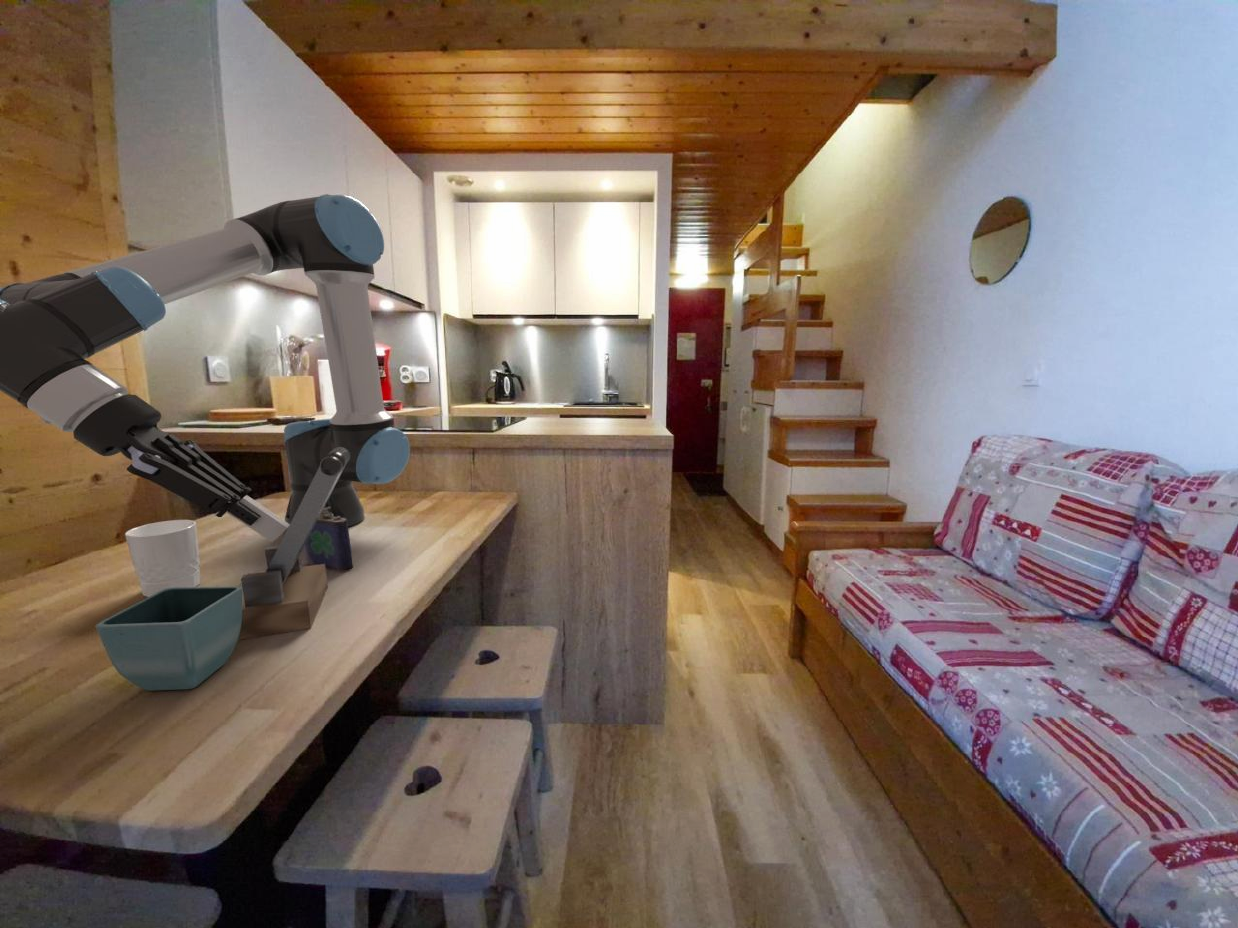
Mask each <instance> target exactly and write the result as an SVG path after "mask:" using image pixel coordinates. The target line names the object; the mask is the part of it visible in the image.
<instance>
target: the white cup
mask: <svg viewBox="0 0 1238 928" xmlns="http://www.w3.org/2000/svg"><path fill="white" fill-rule="evenodd" d="M197 531H198V530H197V524H196V521H194V520H192V519H174V520H166V521H165V520H164V521H158V522H157V521H156V522H153V523H152V522H151V523H147V524H144V525H140V526H136V527H133V528H131V529H129V530H127V531H126V532H125V534H124V535H125V539H126V542H127V546H128V549H129V554H130V558H131V561H132V565H133V568H134V569H135V570H134V571H135V573H136V578H137V579H138V580H139V585H140V589H141V592H142V593H141V594H142V596H144V597H146V598H148V597H150V596H152V595H154V594H156V593H158V592H159V591H162V590H164V589H167V588H186V587H188V588H190V587H199V585H200V584H201V573H200V566H201V562H200V554H199V540H198V532H197Z"/></svg>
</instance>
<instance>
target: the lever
mask: <svg viewBox="0 0 1238 928" xmlns="http://www.w3.org/2000/svg"><path fill="white" fill-rule="evenodd" d="M349 459H350V453H349V451H348V450H347V449H345V448H343V447H337V448H334V449H333V450H332V451H331V452H330V453H329V454H328V455H327V456H326V457H325V458H324V459H323V460H322V461H321V463H320V467H319V469H318V470H317V472H316V474H315V476H314V478H313V480H312V482H311V484H310V486H309V488H308V490H307V492H306V494H305V496H304V498H303V500H302V502H301V504H300V506H299V508H298V510H297V512H296V513H295V515H294V517H293V519H292V521H291V523H290V525H289V527H288V529H286V530H285V531H286V532H285V533H284V536H282V538H281V541H280V543H279V545H278V546H279V547H278V549H277V551H276V553H275V555H274V556H273V558H272V560H271V562H270V564H269V566H268V568H266V570H265V571H266V572H270V571H278V570H281V575H282V583H284V582H285V580H286V578H287V577H288V575H289V573H290V572H291V570H292V569H293V567H294V565H295V563H296V561H297V559H298V557H299V555H300V556H301V554H302V551H303V550H304V548H305V547H304V545H305V543H306V541H307V540H308V538H309V536H310V534H311V532H312V530H313V528H314V526H315V524H316V522H317V520H318V518H319V516H320V514H321V512H322V510H323V508H324V506H325V504H326V502H327V500H328V498H329V497H330V495H331V493H332V491H333V489H334V487H335V485H336V483H337V481H338V479H339V477H340V475H341V473H342V471H343V469H344V467H345V465H346V463H347V462H348V461H349Z"/></svg>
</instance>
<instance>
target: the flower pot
mask: <svg viewBox="0 0 1238 928" xmlns="http://www.w3.org/2000/svg"><path fill="white" fill-rule="evenodd" d="M242 589H243V587H241V586H238V585H236V586H233V585H232V586H200V587H199V586H196V587H190V588H188V587H186V588H167V589H164V590H162V591H159V592H158V593H156V594H154V595H152V596H150V597H146V598H144V599H142V600H140V601H139V602H137V603H135V604H132V605H131V606H128V607H127V608H124V609H123V610H120V611H118V612H116V613H115V614H113V615H112V616H109V617H107V618H104V620H102V621H100V622H98V623H96V624H95V628H96V631H97V634H98V635H99V638H100V640H101V643H102V645H103V647H104V649H105V651H106V653H107V656H108V658H109V661H110V662H111V664H112V665H113V667H114V669H115V670H116V671H117V672H118V673H119V674H120V675H121V676H122V677H123V678H124V679H126V680H127V681H128V682H129V683H131V684H132V685H135V686H137V687H138V688H141V689H142V690H144V691H173V690H174V691H175V690H192V689H195V688H197V687H198V686H199V685H200V684H201V683H203V682H204V681H205V680H206V679H208V678H209V677H210V676H212V675H213V673H215V672H217V670H219V669H220V668H221V667H222V666H224V665H225V664H226V663H227V661H228V660H229V658H230V656H231V655H232V653H233V651H234V649H235V647H236V645H237V643H238V641H239V640H238V637H239V634H240V630H241V623H242Z"/></svg>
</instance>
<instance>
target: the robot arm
mask: <svg viewBox="0 0 1238 928" xmlns="http://www.w3.org/2000/svg"><path fill="white" fill-rule="evenodd" d="M382 231H383V230H382V228H381V227H380V224H379V223H378V221H377V219H376V217H375V216H374V214H372V213H371V211H370V210H369V209H368V207H367V206H365V205H364V204H363V203H362V202H361V201H360V200H358V199H356V198H354V197H352V196H349V195H346V194H345V195H344V194H328V193H327V194H321V195H320V196H314V197H313V196H312V197H306V198H301V199H294V200H285V201H280V202H277V203H275V204H272V205H268V206H266V207H264V208H262V209H259V210H257V211H253V212H251V213H249V214H246V215H243V216H240V217H237V218H234V219H229V220H227V221H226V222H225V223H224V226H223V228H222V229H219V230H216V231H212V232H208V233H205V234H201V235H200V234H199V235H197V236H194V237H193V236H192V237H190V238H186V239H182V240H180V241H175V242H171V243H168V244H165V245H161V246H156V247H153V248H149V249H146V250H142V251H139V252H135V253H131V254H128V255H123V256H121V257H117V258H113V259H110V260H105V261H102V262H98V263H95V264H90V265H88V266H84V267H79V268H77V269H76V268H75V269H73V270H68V271H65V272H64V273H59V274H54V275H52V276H49V277H45V278H41V279H37V280H33V281H29V282H26V283H24V282H14V283H11V284H8V285H6V286H5V285H4V286H2V287H0V392H1V393H3V394H5V395H7V396H8V397H9V398H12V399H13V400H15V401H16V402H18V403H20V404H21V405H22V406H23V407H25V408H27V409H28V410H30V411H31V412H33V413H35V414H36V415H38V416H40V421H41V422H43V423H44V424H46V425H51V424H52V425H53V426H55V427H57V428H58V429H59V430H61V431H63V432H65V433H73V439H75V440H76V441H78V442H79V443H80V444H82V445H83V446H85V447H86V448H89V449H90V450H92V451H93V452H95V453H96V454H98V455H100V456H102V457H112V456H115V455H118V454H119V453H121V454H122V455H123V457H126V458H127V459H129V460H131V461H132V463H131V464H130V465H128V467H126V471H127V472H129V473H131V474H133V475H135V476H137V477H140V478H142V479H145V480H148V481H150V482H152V483H154V484H156V485H157V486H159V487H162V488H164V489H166V490H167V491H169V492H171V493H173V494H175V495H177V496H178V497H181V498H183V499H184V500H186V501H188V502H190V503H192V504H193V505H195V506H198V507H200V508H201V509H203V510H205V511H207V512H209V513H211V514H214V515H215V517H218V518H222V517H223V516H224V515H225V514H226V513H227V514H228V515H229V516H231V517H233V518H234V519H236V520H237V521H239V522H240V523H242V524H243V525H245V526H247V527H248V528H249V529H251V530H253V532H255V533H257V534H259V535H260V536H262V537H263V538H265V539H266V540H268V541H269V542H271V543H273V542H275V541H276V540H277V539H278V538H279V536H281V535H282V534H283V533H284V532H285V531H287V529H288V527H289V525H290V523H291V521H292V519H293V517H294V515H295V513H296V512H297V510H298V508H299V506H300V504H301V502H302V500H303V498H304V496H305V494H306V492H307V490H308V488H309V486H310V484H311V482H312V480H313V478H314V476H315V474H316V472H317V470H318V469H319V467H320V463H321V461H322V460H323V459H324V458H325V457H326V456H327V455H328V454H329V453H330V452H331V451H332V450H333V449H334V448H337V447H343V448H345V449H347V450H348V451H349V453H350V459H349V461H348V462H347V463H346V465H345V467H344V469H343V471H342V473H341V475H340V477H339V479H338V481H337V483H336V485H335V487H334V489H333V491H332V493H331V495H330V497H329V498H328V500H327V502H326V504H325V506H324V508H325V507H331V508H330V509H329V508H328V512H331V513H333V516H334V517H338V516H341V518H345V519H347V521H348V528H349V527H352V526H354V525H357V524H360V522H362V521H363V520H364V519H365V509H364V506H363V504H362V503H361V500H360V498H359V496H358V494H357V492H356V490H355V488H354V485H353V484H354V483H353V482H356V483H364V484H366V485H372V484H375V485H376V484H378V485H379V484H381V485H382V484H387V483H390V482H392V481H394V480H396V479H397V478H398V477H400V476H401V474H402V473H403V472H404V468H406V467H407V465H408V462H409V460H410V454H411V453H410V452H411V447H410V441H409V439H408V437H407V435H405V434H404V432H403V431H402V430H400V429H398V428H396V427H395V420H394V416H393V414H392V413H390V412H389V411H387V410H386V408H385V407H384V400H383V391H382V385H381V384H382V383H381V377H380V370H379V369H380V368H379V361H378V356H377V355H378V354H377V347H376V339H375V334H374V332H375V331H374V326H373V318H372V311H371V310H372V309H371V302H370V297H369V289H368V286H369V284H370V283H371V282H372V281H373V280H374V279H375V276H376V275H375V270H374V269H375V268H374V265H375V264H376V263H377V262H378V261H380V260H381V258H382V255H383V254H384V251H385V239H384V234H383V232H382ZM293 269H295V270H296V269H303V272H304V275H305V276H306V277H307V278H308V279H309V280H311V281H312V282H313V283H314V285H315V286H316V288H315V289H316V293H317V300H318V305H319V311H320V317H321V324H322V330H323V336H324V342H325V343H324V344H325V349H326V354H327V361H328V366H329V371H330V372H329V373H330V378H331V385H332V386H331V387H332V391H333V398H334V403H335V409H336V412H335V414H334V415H333V416H332V417H331V418H323V419H316V420H315V419H314V420H306V421H305V420H304V421H297V422H296V421H295V422H290V423H287V424H286V425H285V427H284V429H283V444H284V448H285V453H286V460H287V461H286V462H287V469H288V476H289V477H288V478H289V484H290V495H289V496H290V497H289V501H288V503H287V507H286V512H285V516H284V519H283V518H281V517H279V516H278V515H276V514H275V513H274V512H272V511H271V510H269V509H268V508H266V507H265V506H264V505H262V504H261V503H259V502H258V501H256V500H255V499H253V498H252V497H250V496H249V495H248V494H250V492H251V491H252V488H250V487H249V486H248V487H247V486H246V485H245V484H244V483H242V481H240V480H239V479H237V477H235V476H234V475H232V474H231V473H230V472H229V471H227V470H226V469H225V468H224V467H223V466H222V465H220V464H219V463H218V462H217V461H216V460H214V459H213V458H212V457H211V456H209V455H208V454H207V453H206V452H205V451H203V449H202V448H200V447H199V445H198V444H197V443H196V442H195V441H194V440H192V439H186V440H185V441H184V442H183V440H181V439H180V438H178V437H177V436H176V435H174V434H170V433H168V432H165V431H163V430H162V429H160V428H158V426H157V425H158V423H159V422H160V421H161V420H162V419H161V418H162V414H161V411H159V410H158V409H157V408H155V407H153V406H152V405H151V404H149V403H148V402H146V401H145V400H144V399H142V398H141V397H139V396H138V395H137V394H129V393H128V392H129V391H128V387H127V386H125V385H123V384H122V383H120V382H119V381H117V380H116V379H114V378H113V377H111V376H110V375H109V374H107V373H106V372H104V371H103V370H101V369H100V368H98V367H97V366H96V365H94V364H93V363H91V361H89V360H87V359H88V358H90V357H92V356H94V355H96V354H98V353H99V352H102V351H104V350H105V349H108V348H111V347H112V346H114V345H116V344H119V343H120V342H122V341H125V340H126V339H129V338H131V337H133V336H134V335H136V334H139V333H140V332H143V331H144V332H145V331H147V330H148V329H149V328H151V327H152V326H154V325H155V324H157V323H159V322H160V321H162V320H163V319H164V318H165V316H166V313H167V312H166V305H167V304H170V303H173V302H176V301H177V300H181V299H183V298H186V297H190V296H192V295H195V294H198V293H201V292H203V291H206V290H208V289H211V288H214V287H217V286H220V285H223V284H226V283H228V282H231V281H233V280H236V279H239V278H242V277H244V276H247V275H250V274H254V275H257V276H267V275H269V274H272V273H275V272H279V271H285V270H286V271H287V270H293Z"/></svg>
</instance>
